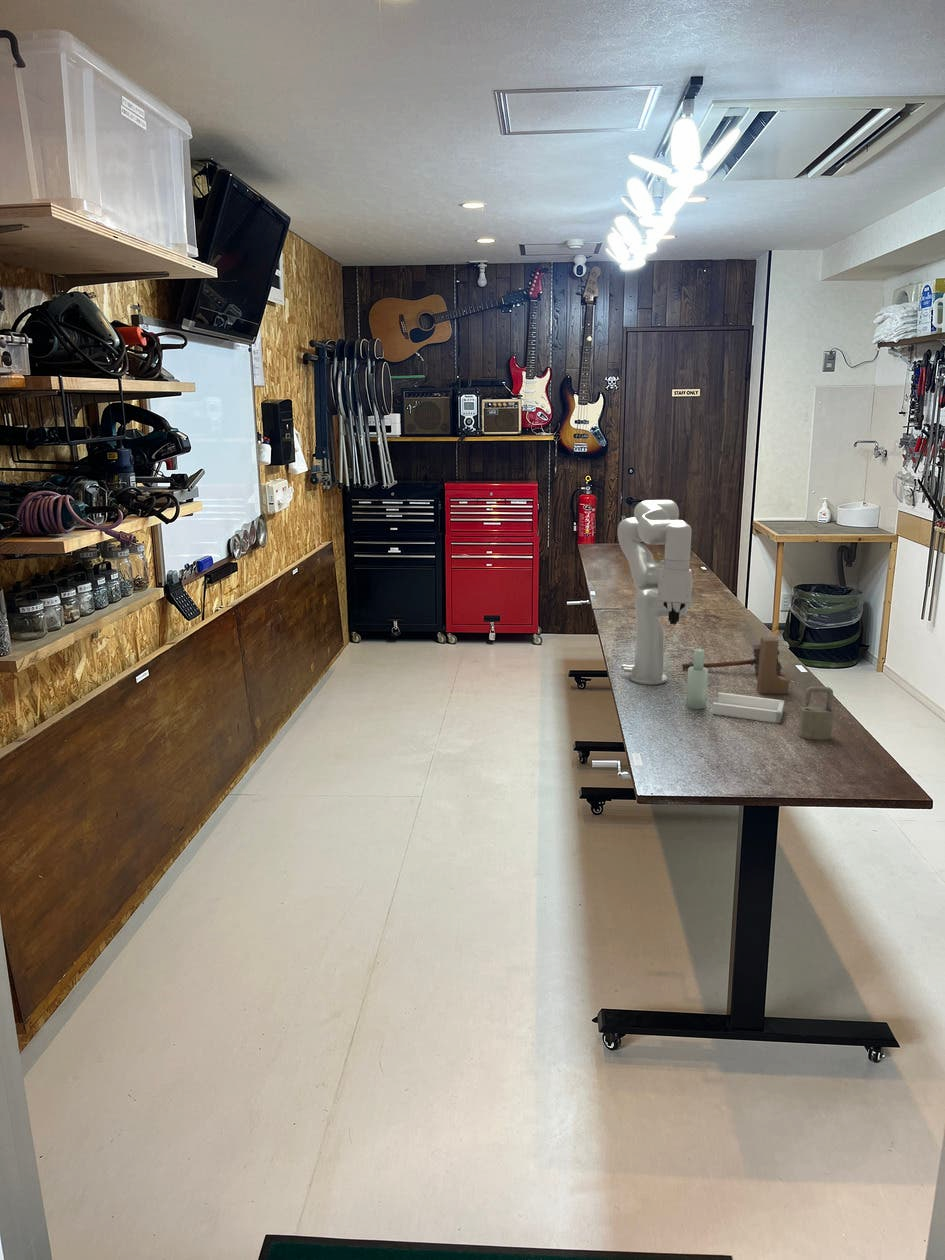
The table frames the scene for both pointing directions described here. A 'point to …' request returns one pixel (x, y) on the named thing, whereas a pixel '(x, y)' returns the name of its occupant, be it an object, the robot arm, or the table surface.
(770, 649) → the wooden block
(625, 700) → the table surface
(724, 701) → the u rest
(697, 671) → the bottle
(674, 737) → the table surface
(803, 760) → the table surface
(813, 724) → the padlock
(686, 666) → the hammer
